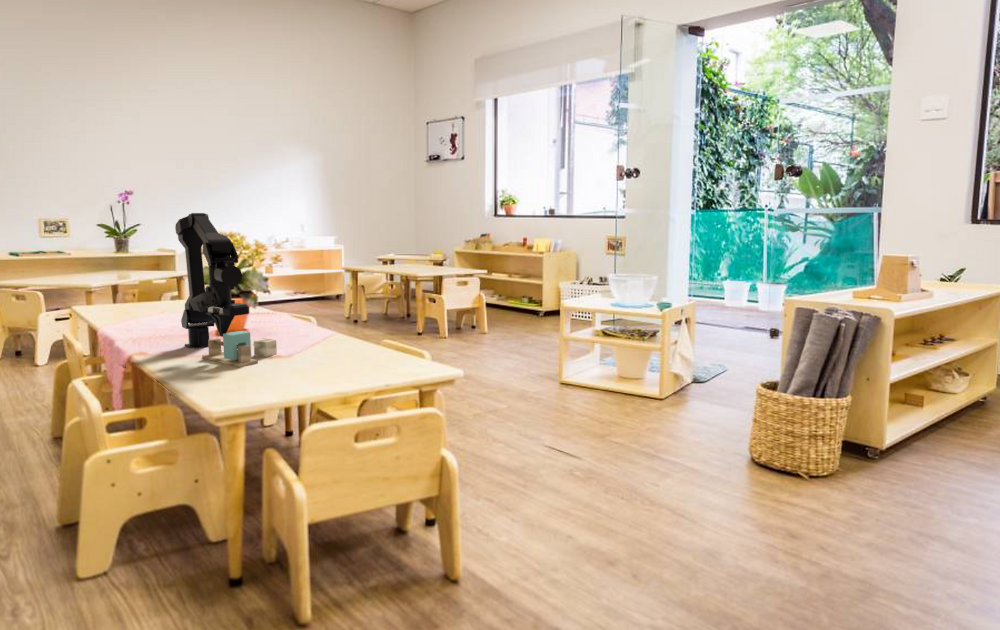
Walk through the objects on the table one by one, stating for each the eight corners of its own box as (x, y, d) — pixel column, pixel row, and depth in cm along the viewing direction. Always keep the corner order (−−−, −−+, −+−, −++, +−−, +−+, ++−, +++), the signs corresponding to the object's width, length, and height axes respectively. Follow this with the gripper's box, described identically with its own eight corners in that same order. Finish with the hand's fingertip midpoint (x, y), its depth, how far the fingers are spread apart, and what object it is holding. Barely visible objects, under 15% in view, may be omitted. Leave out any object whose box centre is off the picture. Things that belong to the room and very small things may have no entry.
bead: (224, 358, 196) (222, 333, 195) (242, 354, 201) (241, 330, 200) (232, 360, 194) (231, 335, 193) (251, 356, 199) (250, 332, 198)
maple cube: (254, 355, 207) (253, 341, 206) (264, 352, 211) (264, 338, 210) (266, 357, 205) (266, 342, 205) (276, 354, 209) (276, 339, 209)
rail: (202, 357, 203) (201, 340, 202) (221, 354, 208) (220, 337, 207) (239, 366, 193) (238, 348, 192) (257, 363, 197) (257, 345, 197)
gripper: (175, 282, 197) (178, 336, 200) (213, 288, 186) (216, 345, 189) (211, 278, 206) (213, 330, 209) (249, 284, 195) (251, 339, 198)
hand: (222, 336), depth 201 cm, fingers closed
